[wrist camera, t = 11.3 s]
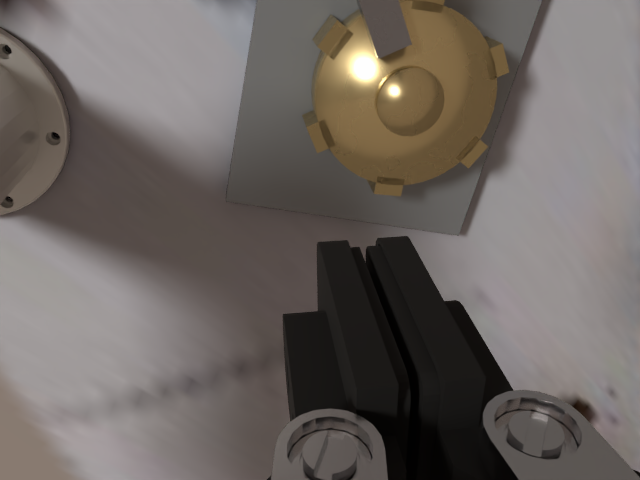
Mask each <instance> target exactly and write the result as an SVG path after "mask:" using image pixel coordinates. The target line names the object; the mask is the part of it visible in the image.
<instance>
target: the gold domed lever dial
mask: <svg viewBox="0 0 640 480" xmlns="http://www.w3.org/2000/svg"><path fill="white" fill-rule="evenodd" d="M356 1H357V4H358V7H359V9H358V10H356V11H355V12H353V13H352V14H350V15H349V16H348V17H347V18H345V19H344V20H343V21H342V22H340V21H339V20H337V19H336V18H335V17H334V16H333V15H330V16H329V17H328V19H327V20H326V21H325V23H324V24H323V25H322V27H321V28H320V29H319V31H318V32H317V33H316V35H315V36H314V38H313V39H312V40H313V41H314V43H315V44H316V46H317V47H318V48H319V49H321V51H320V53H319V55H318V58H317V61H316V64H315V67H314V72H313V77H312V87H311V96H312V105H313V111H310V112H308V113H305V114H303V115H302V116H303V119H304V122H305V125H306V128H307V130H308V133H309V135H310V137H311V140H312V142H313V144H314V147H315V149H316V151H317V153H319V152H322V151H324V150H326V149H330V150H331V152H332V153H333V155H334V156H335V157H336V158H337V159H338V160H339V161H340V163H341V164H343V165H344V166H345V167H346V168H347V169H349V170H350V171H352V172H353V173H355V174H356V175H358V176H360V177H362V178H364V179H366V180H367V182H368V183H369V185H370V187H371V189H372V191H373V193H374V194H380V195H391V196H401V193H402V189H403V185H410V184H416V183H420V182H424V181H427V180H430V179H433V178H435V177H437V176H439V175H441V174H443V173H445V172H446V171H448V170H450V169H451V168H453V167H454V166H455V165H457V164H458V163H459V162H461V163H462V164H464V165H465V166H466V167H467V168H468V169H469V167H470V166H471V165H472V164H473V163H474V162H475V161H476V160H477V159H478V157H479V156H480V155H481V154H482V153H483V152H484V151H485V150H486V149H487V148H488V146H487V145H486V144H485V143H483V142H482V141H481V140H480V139H481V137H482V135H483V134H484V132H485V130H486V128H487V126H488V124H489V122H490V119H491V116H492V113H493V110H494V106H495V101H496V95H497V77H499V76H502V75H504V74H507V73H509V69H508V64H507V60H506V56H505V51H504V47H503V43H501V42H498V41H496V40H494V39H492V38H489V37H487V36H486V37H483V35H482V34H481V32H480V31H479V30H478V29H477V28H476V27H475V25H474V24H473V23H472V22H471V21H469V20H468V19H467V18H466V17H464V16H463V15H462V14H460V13H458V12H457V11H455V10H453V9H451V8H449V7H446V6H444V2H445V0H356Z"/></svg>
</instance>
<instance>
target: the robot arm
mask: <svg viewBox="0 0 640 480" xmlns="http://www.w3.org/2000/svg"><path fill="white" fill-rule="evenodd" d="M5 45H8V46H9V47H10V48H11V51H12V53H8V52H7V51H6V50H5ZM53 132H55V133H57V134H58V135H59V136H60V138H56V137H55V136H54V135H53ZM69 143H70V124H69V116H68V111H67V108H66V105H65V102H64V99H63V96H62V93H61V91H60V90H59V88H58V86H57V84H56V82H55V80H54V78H53V77H52V75H51V74H50V72H49V71H48V70H47V68H46V67H45V66H44V65H43V63H42V62H41V61H40V59H39V58H38V57H37V56H36V55H35V54H34V53H33V52H31V51H30V50H29V49H28V48H27V47H26V46H25V45H24V44H23V43H22V42H21V41H19V40H18V39H16V38H15V37H13V36H12V35H10V34H9V33H7V32H6V31H4V30H3V29H2V28H0V215H4V214H7V213H10V212H14V211H17V210H19V209H21V208H23V207H25V206H27V205H29V204H31V203H33V202H34V201H35V200H36V199H38V198H39V197H40V196H41V195H42V194H44V193H45V192H46V191H47V190H48V189H49V187H50V186H51V185H52V184H53V182H54V181H55V180H56V178H57V176H58V175H59V173H60V171H61V170H62V168H63V166H64V164H65V160H66V157H67V154H68V151H69ZM8 196H9V197H11V198H12V199H9V198H8ZM317 287H318V311H317V312H304V313H292V314H283V335H284V355H285V370H286V382H287V393H288V403H289V412H290V422H289V423H288V424H287V425H286V426H285V428H284V429H283V430H282V431H281V433H280V434H279V436H278V439H277V443H276V446H275V451H274V459H273V467H272V475H271V476H270V477H269V478H268V479H267V480H640V473H639V472H637V471H635V470H633V469H632V468H631V467H630V466H629V465H628V464H627V463H626V462H625V461H624V460H623V459H622V458H621V457H620V455H619V454H618V453H617V452H616V451H615V450H614V449H613V448H612V447H611V446H610V445H609V444H608V442H607V441H606V440H605V439H604V438H603V437H602V436H601V435H600V434H599V433H598V432H597V431H596V429H595V428H594V427H593V426H592V425H591V424H590V423H589V422H588V421H587V420H586V419H585V418H584V416H583V415H581V414H580V413H579V412H578V411H577V410H576V409H574V408H573V407H572V406H571V405H569V404H567V403H566V402H564V401H562V400H560V399H558V398H556V397H554V396H551V395H548V394H545V393H541V392H537V391H528V390H516V391H513V389H512V387H511V386H510V384H509V382H508V381H507V379H506V377H505V376H504V374H503V372H502V370H501V369H500V367H499V365H498V364H497V362H496V360H495V359H494V357H493V355H492V354H491V352H490V350H489V349H488V347H487V345H486V344H485V342H484V340H483V339H482V337H481V335H480V334H479V332H478V330H477V329H476V327H475V325H474V324H473V322H472V320H471V319H470V317H469V315H468V313H467V312H466V310H465V308H464V307H463V305H462V304H461V303H460V302H459V301H456V300H454V301H444V300H443V298H442V297H441V295H440V293H439V291H438V289H437V288H436V286H435V284H434V282H433V280H432V279H431V277H430V275H429V273H428V271H427V270H426V268H425V266H424V264H423V262H422V260H421V259H420V257H419V255H418V253H417V251H416V250H415V248H414V246H413V244H412V242H411V241H410V239H409V237H408V236H402V237H387V238H378V239H377V241H376V246H367V249H366V263H365V260H364V258H363V255H362V253H361V250H360V248H359V247H352V248H350V246H349V243H348V241H347V240H343V241H328V242H318V244H317Z"/></svg>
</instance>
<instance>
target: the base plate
mask: <svg viewBox="0 0 640 480" xmlns="http://www.w3.org/2000/svg"><path fill="white" fill-rule="evenodd" d="M541 2H542V0H445V2H444V6H446V7H449V8H451V9H453V10H455V11H457V12H458V13H460V14H462V15H463V16H464V17H466V18H467V19H468V20H469V21H471V22H472V23H473V24H474V25H475V27H476V28H477V29H478V30H479V31H480V32H481V34H482V35H483V37H486V36H487V37H489V38H492V39H494V40H496V41H498V42H501V43H503V47H504V51H505V56H506V60H507V64H508V69H509V73H507V74H504V75H502V76H499V77H497V95H496V101H495V106H494V110H493V113H492V116H491V119H490V122H489V124H488V126H487V128H486V130H485V132H484V134H483V135H482V137H481V139H480V140H481V141H482V142H483V143H485V144H486V145H487V146H488V148H487V149H486V150H485V151H484V152H483V153H482V154H481V155H480V156H479V157H478V159H477V160H476V161H475V162H474V163H473V164H472V165H471V166H470V167H469V169H468V168H467V167H466V166H465V165H464V164H462V163H461V162H459V163H458V164H457V165H455V166H454V167H453V168H451V169H450V170H448V171H446V172H445V173H443V174H441V175H439V176H437V177H435V178H433V179H430V180H427V181H424V182H420V183H416V184H410V185H403V189H402V193H401V196H391V195H380V194H374V193H373V191H372V189H371V187H370V185H369V183H368V182H367V180H366V179H364V178H362V177H360V176H358V175H356V174H355V173H353V172H352V171H350V170H349V169H347V168H346V167H345V166H344V165H343V164H341V163H340V161H339V160H338V159H337V158H336V157H335V156H334V155H333V153H332V152H331V150H330V149H326V150H324V151H322V152H319V153H317V151H316V149H315V147H314V144H313V142H312V140H311V137H310V135H309V133H308V130H307V128H306V125H305V122H304V119H303V116H302V115H303V114H305V113H308V112H310V111H313V105H312V96H311V87H312V77H313V72H314V67H315V64H316V61H317V58H318V55H319V53H320V51H321V49H319V48H318V47H317V46H316V44H315V43H314V41H313V40H312V39H313V38H314V36H315V35H316V33H317V32H318V31H319V29H320V28H321V27H322V25H323V24H324V23H325V21H326V20H327V19H328V17H329V16H330V15H333V16H334V17H335V18H336V19H337V20H339V21H340V22H342V21H343V20H344V19H345V18H347V17H348V16H349V15H350V14H352V13H353V12H355V11H356V10H358V9H359V7H358V4H357V1H356V0H257V3H256V9H255V15H254V22H253V28H252V34H251V41H250V47H249V53H248V60H247V66H246V72H245V79H244V85H243V91H242V98H241V104H240V110H239V117H238V123H237V129H236V136H235V142H234V148H233V154H232V161H231V167H230V173H229V180H228V186H227V192H226V202H233V203H239V204H246V205H253V206H260V207H267V208H274V209H280V210H287V211H294V212H301V213H308V214H314V215H321V216H328V217H335V218H342V219H348V220H355V221H362V222H369V223H376V224H383V225H389V226H396V227H403V228H410V229H417V230H423V231H430V232H437V233H444V234H451V235H457V236H459V233H460V230H461V227H462V224H463V222H464V219H465V216H466V213H467V210H468V208H469V205H470V202H471V199H472V196H473V193H474V191H475V188H476V185H477V182H478V179H479V177H480V174H481V171H482V168H483V165H484V163H485V160H486V157H487V154H488V151H489V148H490V146H491V143H492V140H493V137H494V134H495V132H496V129H497V126H498V123H499V120H500V118H501V115H502V112H503V109H504V106H505V103H506V101H507V98H508V95H509V92H510V89H511V87H512V84H513V81H514V78H515V75H516V73H517V70H518V67H519V64H520V61H521V58H522V56H523V53H524V50H525V47H526V44H527V42H528V39H529V36H530V33H531V30H532V28H533V25H534V22H535V19H536V16H537V13H538V11H539V8H540V5H541Z"/></svg>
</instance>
